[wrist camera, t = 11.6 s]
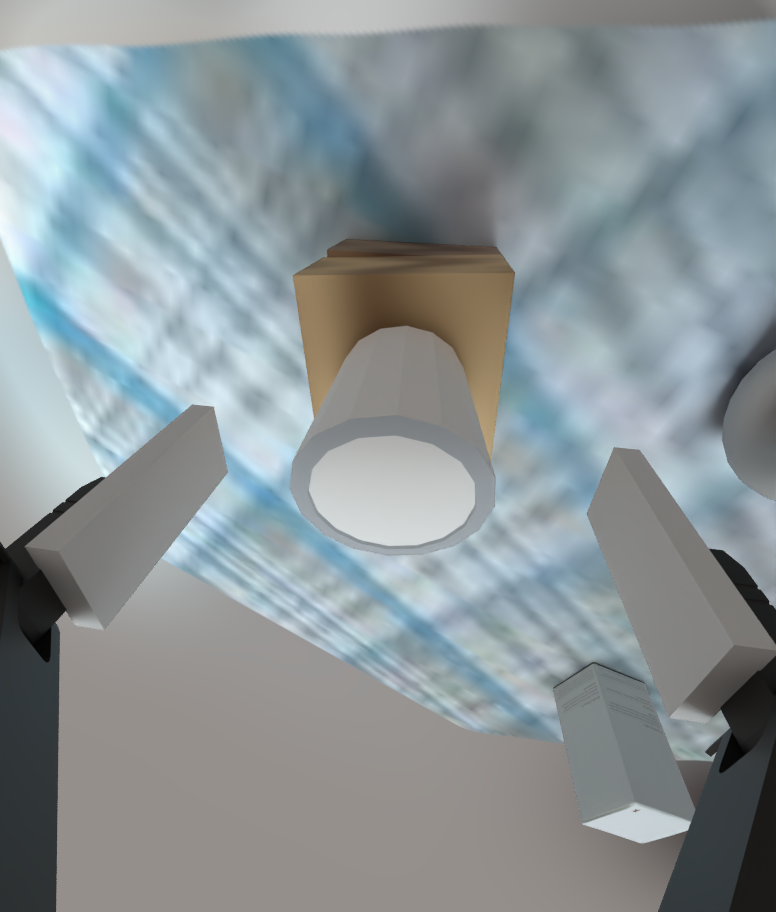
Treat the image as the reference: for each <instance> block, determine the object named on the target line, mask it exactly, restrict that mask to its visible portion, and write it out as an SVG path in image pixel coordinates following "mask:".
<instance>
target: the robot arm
mask: <svg viewBox="0 0 776 912" xmlns="http://www.w3.org/2000/svg"><path fill="white" fill-rule="evenodd" d="M227 473H228V470H227V465H226V461H225V456H224V452H223V447H222V443H221V438H220V433H219V429H218V424H217V420H216V415H215V411H214V407H210V406H201V405H191V406H190V407H189V408H188V409H187V410H185V411H184V412H183V413H182V414H181V415H179V416H178V417H177V418H176V419H175V420H174V421H172V422H171V423H170V424H169V425H168V426H166V427H165V428H164V429H163V430H162V431H161V432H159V433H158V434H157V435H156V436H155V437H153V438H152V439H151V440H150V441H149V442H148V443H146V444H145V445H144V446H143V447H142V448H140V449H139V450H138V451H137V452H136V453H135V454H133V455H132V456H131V457H130V458H129V459H127V460H126V461H125V462H124V463H123V464H122V465H120V466H119V467H118V468H117V469H116V470H114V471H113V472H112V473H111V474H110V475H109V476H107V477H106V478H105V477H100V478H98V479H97V480H94V481H92V482H90V483H88V484H87V485H85V486H82V487H81V488H79V490H77V491H76V492H75V493H73V494H72V495H71V496H70V497H69V498H67V499H66V502H65V503H64V502H63V503H61V504H60V505H59V506H57V507H56V508H55V509H54V510H53V512H52V513H49V514H48V515H47V516H45V517H44V518H43V519H41V520H40V521H39V522H38V523H37V524H35V525H34V526H33V527H32V528H30V529H29V530H28V531H27V532H26V533H24V534H23V535H22V536H21V537H20V538H18V539H17V540H16V541H14V542H13V543H12V544H11V545H10V546H8V547H7V548H6V549H5V548H4V547H3V545H2V544H1V542H0V912H56V873H57V872H56V871H57V801H58V727H59V723H58V722H59V654H60V653H59V652H60V632H59V628H58V626H57V624H56V623H55V622H56V621H57V620H58V619H59V618H60V616H61V615H62V614H63V613H64V612H65V611H66V612H67V613H68V614H69V616H70V618H71V620H72V621H73V623H74V624H75V625H76V626H81V627H87V628H94V629H100V630H105V629H106V627H107V626H108V625H109V623H110V622H111V621H112V620H113V619H114V617H115V616H116V615H117V613H118V612H119V611H120V610H121V608H122V607H123V606H124V605H125V603H126V602H127V601H128V599H129V598H130V597H131V595H132V594H133V593H134V592H135V590H136V589H137V588H138V587H139V585H140V584H141V583H142V581H143V580H144V579H145V578H146V576H147V575H148V574H149V572H150V571H151V570H152V569H153V567H154V566H155V565H156V564H157V562H158V561H159V560H160V559H161V557H162V556H163V555H164V553H165V552H166V551H167V550H168V548H169V547H170V546H171V544H172V543H173V542H174V541H175V539H176V538H177V537H178V536H179V534H180V533H181V532H182V530H183V529H184V528H185V527H186V525H187V524H188V523H189V521H190V520H191V519H192V518H193V516H194V515H195V514H196V512H197V511H198V510H199V509H200V507H201V506H202V505H203V504H204V502H205V501H206V500H207V498H208V497H209V496H210V495H211V493H212V492H213V491H214V489H215V488H216V487H217V486H218V484H219V483H220V482H221V481H222V479H223V478H224V477H225V475H226V474H227ZM587 516H588V518H589V521H590V523H591V526H592V528H593V531H594V533H595V536H596V538H597V540H598V543H599V545H600V548H601V550H602V553H603V555H604V558H605V560H606V563H607V565H608V568H609V570H610V573H611V575H612V578H613V580H614V583H615V585H616V588H617V590H618V593H619V595H620V597H621V600H622V602H623V605H624V607H625V610H626V612H627V615H628V617H629V620H630V622H631V625H632V627H633V630H634V632H635V635H636V637H637V640H638V642H639V645H640V647H641V650H642V652H643V655H644V657H645V659H646V662H647V664H648V667H649V669H650V672H651V674H652V677H653V679H654V682H655V684H656V687H657V689H658V692H659V694H660V697H661V699H662V702H663V704H664V707H665V709H666V712H667V714H668V717H669V718H674V719H680V720H686V721H693V722H699V723H706V724H707V723H708V722H709V721H710V720H711V719H712V718H713V717H714V716H715V715H716V714H717V713H718V712H719V711H720V710H721V711H722V713H723V715H724V717H725V718H726V720H727V722H728V724H729V726H730V729H729V730H727V731H726V732H725V733H724V734H723V735H722V736H721V737H720V738H719V739H718V740H716V741H715V742H714V743H713V744H712V745H711V746H710V747H709V748H708V749H707V750H706V753H707V754H708V755H709V756H712V755H713V754H715V753H716V752H717V753H716V755H715V758H714V761H713V764H712V766H711V769H710V772H709V775H708V777H707V780H706V783H705V786H704V788H703V791H702V794H701V796H700V799H699V802H698V804H697V807H696V810H695V813H694V815H693V818H692V821H691V823H690V826H689V829H688V832H687V834H686V837H685V840H684V843H683V845H682V848H681V851H680V853H679V856H678V859H677V862H676V864H675V867H674V870H673V873H672V875H671V878H670V881H669V883H668V886H667V889H666V891H665V894H664V897H663V900H662V902H661V905H660V908H659V910H658V912H776V609H775V608H774V607H773V605H770V604H769V602H770V601H769V600H768V599H767V597H766V596H765V595H764V593H763V592H762V591H761V590H759V589H758V588H757V587H758V585H757V584H756V583H755V582H754V580H753V579H752V578H751V576H750V575H749V574H748V572H747V571H746V570H745V568H744V567H743V566H741V565H740V564H739V563H738V562H737V561H735V560H734V559H733V558H732V557H730V556H729V555H728V554H727V553H726V552H724V551H723V550H715V549H709V548H708V547H707V546H706V544H705V543H704V541H703V540H702V538H701V537H700V536H699V534H698V533H697V531H696V530H695V528H694V527H693V526H692V524H691V523H690V521H689V520H688V518H687V517H686V516H685V514H684V513H683V511H682V510H681V508H680V507H679V505H678V504H677V503H676V501H675V500H674V498H673V497H672V495H671V494H670V493H669V491H668V490H667V488H666V487H665V485H664V484H663V483H662V481H661V480H660V478H659V477H658V475H657V474H656V473H655V471H654V470H653V468H652V467H651V465H650V464H649V463H648V461H647V460H646V458H645V457H644V455H643V454H642V453H641V451H640V450H635V449H625V448H615V447H614V449H613V451H612V454H611V456H610V459H609V461H608V463H607V466H606V468H605V471H604V473H603V475H602V478H601V480H600V483H599V485H598V488H597V490H596V492H595V495H594V497H593V500H592V502H591V504H590V507H589V509H588V512H587Z"/></svg>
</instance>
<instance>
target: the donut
mask: <svg viewBox="0 0 776 912" xmlns="http://www.w3.org/2000/svg"><path fill="white" fill-rule="evenodd" d="M722 441H723V445H724V449H725V453H726V457H727V461H728V463H729V465H730V466H731V468H732V469H733V471H734V472H735V473H736V475H737V476H738V478H739V479H740V480H741V481H742V482H743V483H744V484H745V485H747V486H748V487H750V488H751V489H753V490H754V491H756V492H757V493H759V494H760V495H762V496H763V497H766V498H768V499H771V500H775V501H776V349H775V350H773V351H772V352H771V353H769V354H768V355H766V356H765V357H764V358H762V359H761V360H760V361H758V363H757V364H756V365H755V366H754V367H753V368H752V369H751V370H750V371H749V372H748V374H747V375H746V376H745V377H744V378H743V379H742V380H741V382H740V384H739V385H738V387H737V389H736V391H735V392H734V394H733V396H732V397H731V399H730V401H729V405H728V408H727V411H726V414H725V417H724V420H723V438H722Z"/></svg>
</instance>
